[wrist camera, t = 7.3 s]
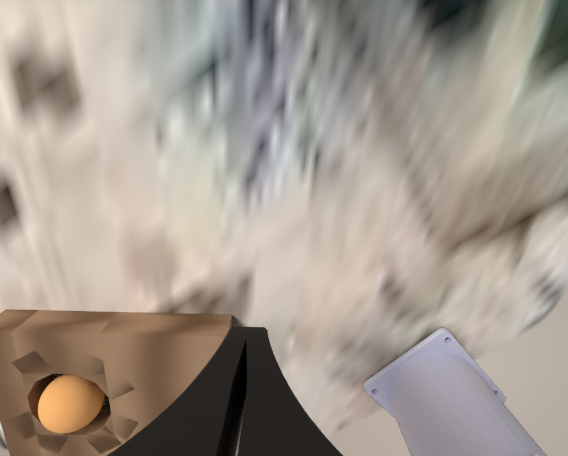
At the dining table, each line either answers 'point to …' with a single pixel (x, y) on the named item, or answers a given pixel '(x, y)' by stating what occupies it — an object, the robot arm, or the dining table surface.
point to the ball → (69, 403)
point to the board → (98, 371)
